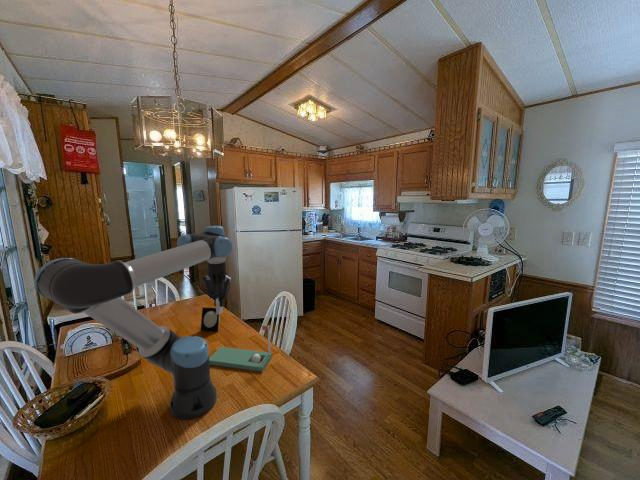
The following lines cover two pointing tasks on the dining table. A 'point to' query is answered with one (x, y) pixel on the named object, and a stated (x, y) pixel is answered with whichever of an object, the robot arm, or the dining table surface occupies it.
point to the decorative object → (209, 320)
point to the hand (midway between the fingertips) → (219, 313)
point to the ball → (256, 358)
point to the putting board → (241, 357)
